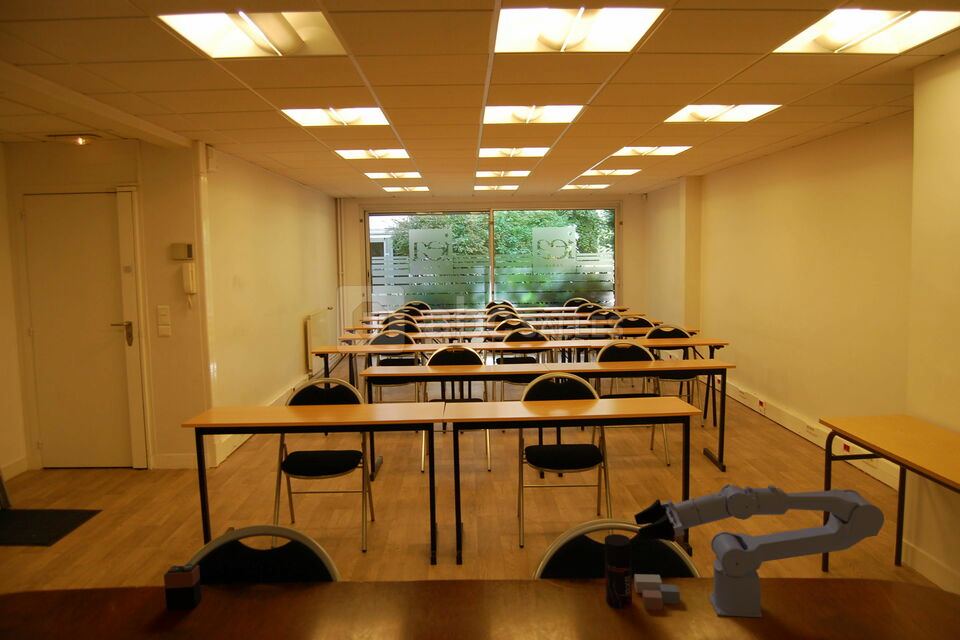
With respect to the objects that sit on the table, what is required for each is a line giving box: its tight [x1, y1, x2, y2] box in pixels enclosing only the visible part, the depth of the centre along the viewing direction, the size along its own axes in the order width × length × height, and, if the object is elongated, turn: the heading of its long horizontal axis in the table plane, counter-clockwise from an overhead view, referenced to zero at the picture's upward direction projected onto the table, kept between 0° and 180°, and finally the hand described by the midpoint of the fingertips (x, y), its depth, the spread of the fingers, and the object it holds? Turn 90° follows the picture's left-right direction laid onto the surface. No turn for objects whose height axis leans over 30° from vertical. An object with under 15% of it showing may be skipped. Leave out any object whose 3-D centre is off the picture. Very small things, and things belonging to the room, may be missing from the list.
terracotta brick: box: [641, 590, 663, 611], centre depth 131 cm, size 4×3×3 cm
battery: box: [163, 563, 203, 611], centre depth 139 cm, size 4×7×10 cm, turn 93°
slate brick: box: [659, 583, 681, 605], centre depth 133 cm, size 4×3×3 cm
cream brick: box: [633, 573, 663, 594], centre depth 138 cm, size 6×4×3 cm, turn 82°
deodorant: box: [604, 533, 633, 610], centre depth 133 cm, size 6×6×15 cm
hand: (637, 526), depth 131 cm, fingers open, 7 cm apart
